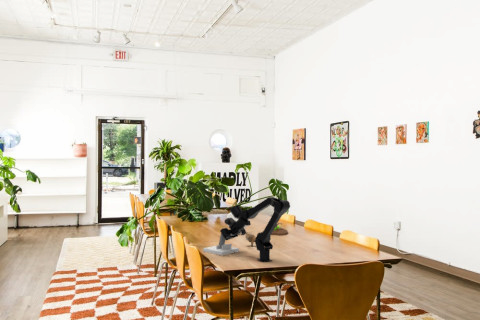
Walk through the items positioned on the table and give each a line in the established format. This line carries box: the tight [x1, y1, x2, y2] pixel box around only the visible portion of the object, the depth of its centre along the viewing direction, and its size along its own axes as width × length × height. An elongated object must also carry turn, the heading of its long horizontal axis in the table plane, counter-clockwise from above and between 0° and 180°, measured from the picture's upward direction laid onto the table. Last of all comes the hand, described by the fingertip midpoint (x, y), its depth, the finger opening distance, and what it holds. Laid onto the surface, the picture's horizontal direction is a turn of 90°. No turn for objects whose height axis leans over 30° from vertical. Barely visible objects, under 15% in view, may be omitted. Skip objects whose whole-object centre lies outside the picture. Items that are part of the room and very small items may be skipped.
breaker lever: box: [218, 232, 226, 248], centre depth 278 cm, size 2×5×12 cm, turn 140°
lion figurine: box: [245, 232, 265, 248], centre depth 297 cm, size 15×5×9 cm, turn 91°
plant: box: [271, 222, 289, 237], centre depth 350 cm, size 20×20×11 cm
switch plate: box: [202, 243, 240, 256], centre depth 279 cm, size 16×16×5 cm
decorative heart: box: [225, 212, 250, 235], centre depth 342 cm, size 18×11×17 cm, turn 106°
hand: (226, 239), depth 277 cm, fingers closed
